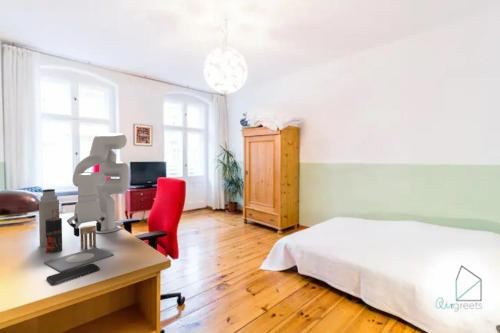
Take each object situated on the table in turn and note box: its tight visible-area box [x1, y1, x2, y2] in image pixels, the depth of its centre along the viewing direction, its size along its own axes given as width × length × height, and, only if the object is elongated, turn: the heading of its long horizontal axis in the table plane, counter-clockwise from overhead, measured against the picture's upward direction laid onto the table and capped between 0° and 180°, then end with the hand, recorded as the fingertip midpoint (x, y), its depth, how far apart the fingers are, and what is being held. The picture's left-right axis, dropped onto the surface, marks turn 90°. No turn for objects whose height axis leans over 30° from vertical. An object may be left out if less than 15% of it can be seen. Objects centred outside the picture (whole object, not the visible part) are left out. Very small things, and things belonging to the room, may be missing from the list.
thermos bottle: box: [38, 188, 60, 248], centre depth 124 cm, size 8×8×28 cm
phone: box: [46, 263, 101, 286], centre depth 90 cm, size 8×1×15 cm
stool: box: [79, 224, 97, 250], centre depth 119 cm, size 6×6×10 cm
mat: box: [43, 246, 115, 273], centre depth 105 cm, size 20×16×1 cm
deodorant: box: [45, 217, 63, 255], centre depth 114 cm, size 6×6×15 cm
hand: (88, 233), depth 119 cm, fingers open, 9 cm apart
